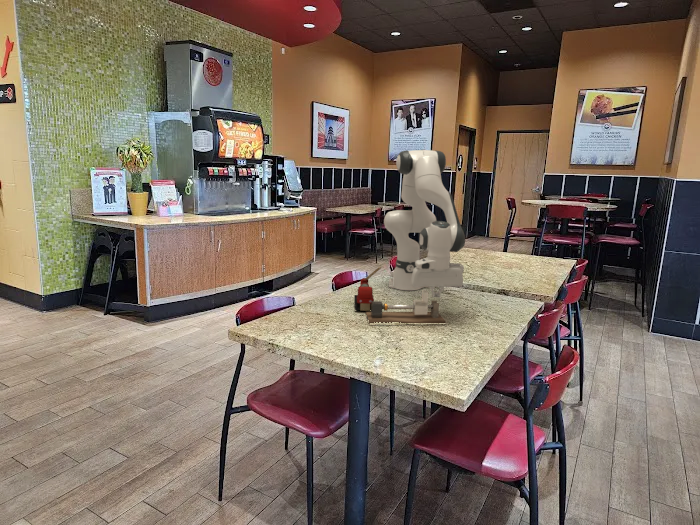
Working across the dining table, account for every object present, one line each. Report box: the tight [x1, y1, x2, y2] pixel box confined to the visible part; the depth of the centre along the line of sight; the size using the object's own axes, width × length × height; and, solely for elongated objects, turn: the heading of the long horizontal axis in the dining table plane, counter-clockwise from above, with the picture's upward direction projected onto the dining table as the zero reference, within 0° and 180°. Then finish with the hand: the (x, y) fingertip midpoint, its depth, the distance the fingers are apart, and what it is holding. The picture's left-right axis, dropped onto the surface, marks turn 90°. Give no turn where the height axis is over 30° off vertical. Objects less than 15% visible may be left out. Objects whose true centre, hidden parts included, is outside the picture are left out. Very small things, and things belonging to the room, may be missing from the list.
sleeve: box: [412, 289, 429, 315], centre depth 183 cm, size 4×5×9 cm
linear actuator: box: [365, 300, 447, 324], centre depth 184 cm, size 12×30×8 cm, turn 95°
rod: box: [370, 300, 433, 318], centre depth 184 cm, size 4×26×6 cm, turn 95°
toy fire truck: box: [353, 266, 382, 312], centre depth 198 cm, size 11×16×18 cm
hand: (436, 297), depth 183 cm, fingers closed
